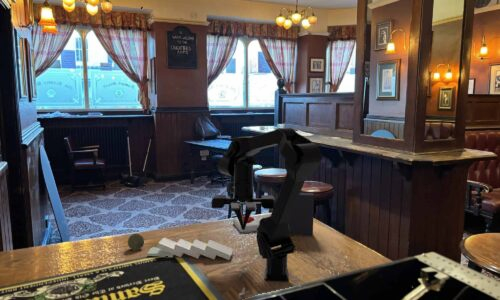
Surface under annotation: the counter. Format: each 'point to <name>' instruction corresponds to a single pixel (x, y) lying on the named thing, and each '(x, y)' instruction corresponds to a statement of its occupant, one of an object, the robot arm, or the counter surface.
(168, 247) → the domino
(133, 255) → the counter surface
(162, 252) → the domino
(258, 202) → the robot arm
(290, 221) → the dark grey upright block
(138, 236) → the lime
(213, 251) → the domino
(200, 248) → the domino
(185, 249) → the domino
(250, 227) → the red button box
